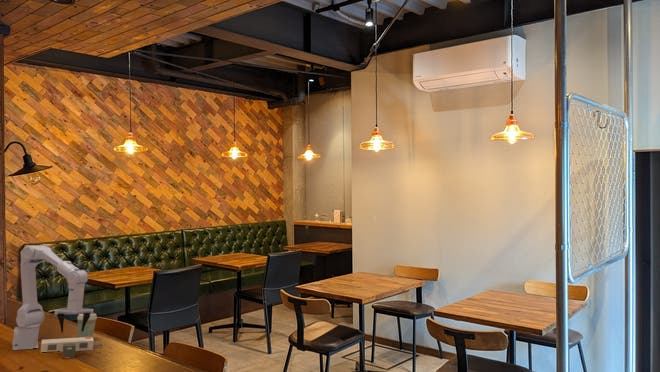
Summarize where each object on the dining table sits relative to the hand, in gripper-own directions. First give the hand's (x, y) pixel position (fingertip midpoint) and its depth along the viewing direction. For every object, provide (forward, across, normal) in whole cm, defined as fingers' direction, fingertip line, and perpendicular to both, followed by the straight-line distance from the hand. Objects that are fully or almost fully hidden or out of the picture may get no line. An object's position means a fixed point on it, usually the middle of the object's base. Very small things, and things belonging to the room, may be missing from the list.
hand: (72, 331), depth 209 cm
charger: (+9, -1, -4) cm, 10 cm away
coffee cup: (+10, +7, +23) cm, 26 cm away
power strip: (+9, +1, +8) cm, 13 cm away
